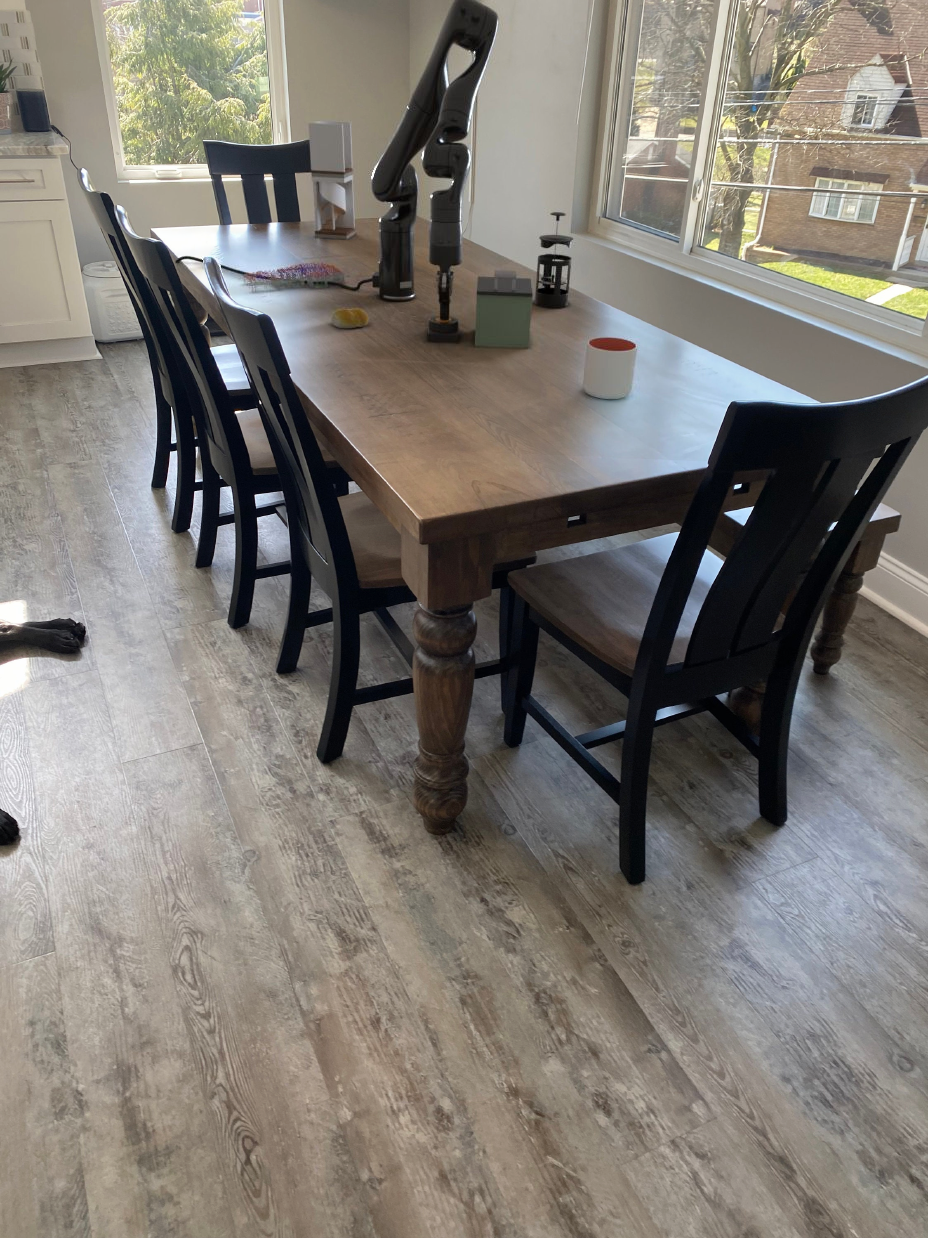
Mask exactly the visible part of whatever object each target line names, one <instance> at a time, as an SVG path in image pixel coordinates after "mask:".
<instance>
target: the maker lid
mask: <svg viewBox="0 0 928 1238" xmlns="http://www.w3.org/2000/svg"><path fill="white" fill-rule="evenodd" d="M493 275H494V276H477V284H476V285H477V286H476V296H477V295H495V296H520V297H532V298H533V296H534V294H533V285H532V278H527V277H526V278H525V277H524V278H523V277H522V278H521V277H517V276H518V271H517V270H504V269H503V270H502V269H495V270H494V273H493Z"/></svg>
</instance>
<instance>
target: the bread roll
mask: <svg viewBox="0 0 928 1238" xmlns="http://www.w3.org/2000/svg"><path fill="white" fill-rule="evenodd" d="M330 321H331V324H332V325H333V326H335V328H339V329H355V328H364V327H366V326H367V325H368V323H369V321H370V319H369V316H368V313H367V312H366V311H365V310H364V309H362V308H359V307H354V308H349V309H346V308H339V309H335V311H334V312H333V313H332V315H331V320H330Z"/></svg>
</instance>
